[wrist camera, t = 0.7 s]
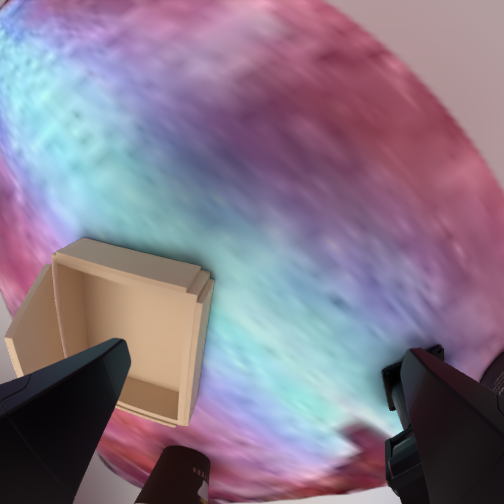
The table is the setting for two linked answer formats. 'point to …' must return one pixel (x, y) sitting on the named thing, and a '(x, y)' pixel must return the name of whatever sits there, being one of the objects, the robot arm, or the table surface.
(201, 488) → the coffee mug
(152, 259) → the kraft box
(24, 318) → the flap
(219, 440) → the table surface
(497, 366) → the jar
